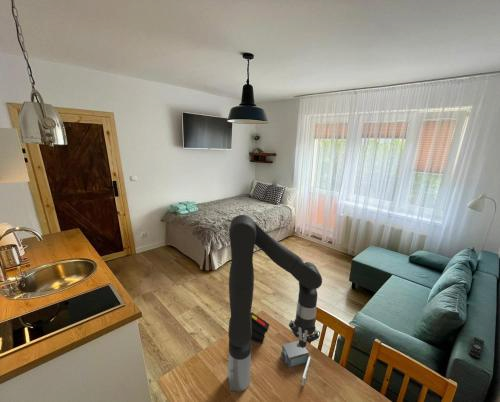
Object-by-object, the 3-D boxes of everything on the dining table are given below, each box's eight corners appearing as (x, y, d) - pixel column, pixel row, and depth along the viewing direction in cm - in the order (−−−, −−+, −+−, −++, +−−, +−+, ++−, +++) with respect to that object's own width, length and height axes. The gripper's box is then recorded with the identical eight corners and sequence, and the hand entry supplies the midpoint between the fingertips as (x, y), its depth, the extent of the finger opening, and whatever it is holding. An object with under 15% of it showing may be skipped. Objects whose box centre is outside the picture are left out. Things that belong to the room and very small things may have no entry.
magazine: (239, 328, 122) (251, 311, 116) (260, 343, 119) (273, 326, 114) (236, 333, 118) (249, 316, 113) (257, 349, 116) (271, 332, 110)
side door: (304, 386, 95) (305, 378, 94) (301, 385, 96) (302, 377, 94) (311, 363, 105) (312, 355, 104) (308, 362, 106) (309, 354, 104)
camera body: (285, 369, 102) (286, 357, 101) (279, 354, 109) (279, 344, 107) (307, 362, 106) (308, 351, 104) (300, 349, 112) (301, 338, 110)
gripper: (287, 311, 88) (284, 345, 93) (321, 324, 82) (316, 361, 87) (293, 300, 95) (290, 332, 99) (325, 311, 89) (320, 346, 93)
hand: (302, 345), depth 93 cm, fingers closed
